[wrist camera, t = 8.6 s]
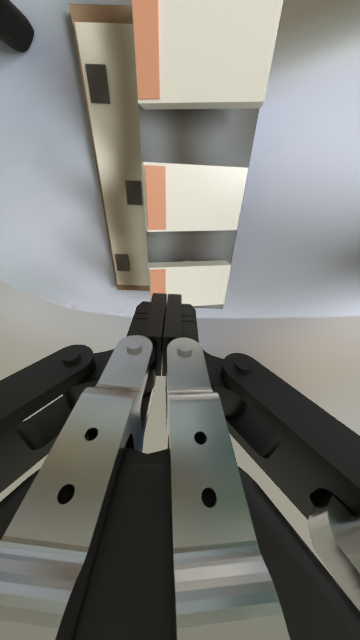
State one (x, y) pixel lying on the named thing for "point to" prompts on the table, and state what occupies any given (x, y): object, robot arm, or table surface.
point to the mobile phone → (14, 27)
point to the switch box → (147, 147)
